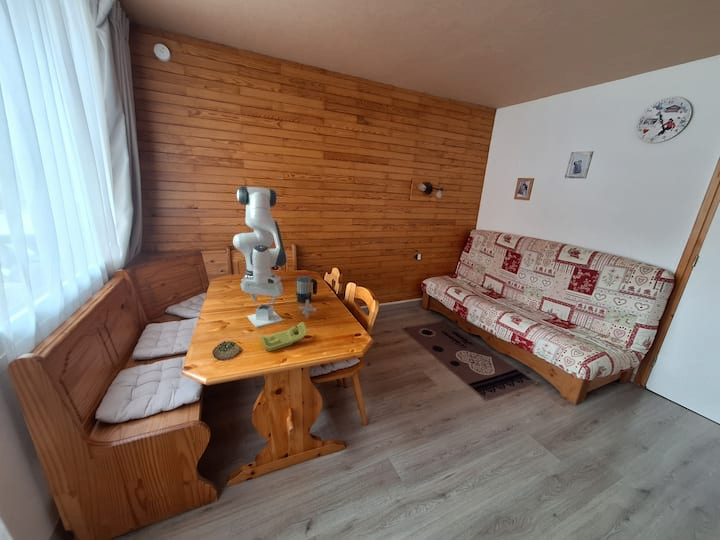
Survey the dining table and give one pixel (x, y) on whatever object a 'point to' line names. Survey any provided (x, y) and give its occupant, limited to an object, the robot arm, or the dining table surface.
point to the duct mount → (260, 323)
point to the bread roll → (226, 350)
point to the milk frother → (305, 289)
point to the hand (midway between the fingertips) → (263, 302)
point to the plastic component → (284, 337)
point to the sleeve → (264, 312)
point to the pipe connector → (307, 308)
